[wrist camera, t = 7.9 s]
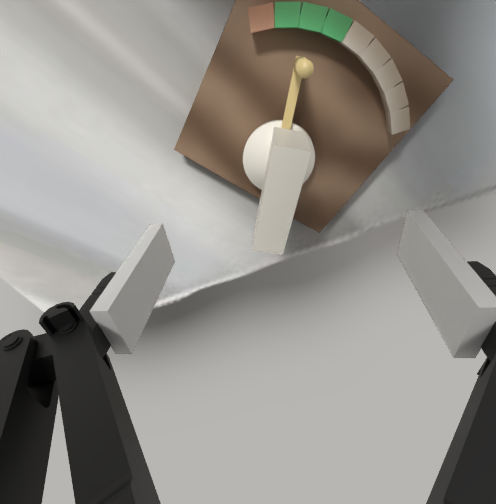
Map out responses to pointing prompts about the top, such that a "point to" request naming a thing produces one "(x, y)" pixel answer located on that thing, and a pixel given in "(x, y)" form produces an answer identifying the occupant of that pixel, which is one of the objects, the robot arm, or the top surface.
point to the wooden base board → (310, 94)
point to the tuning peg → (279, 168)
